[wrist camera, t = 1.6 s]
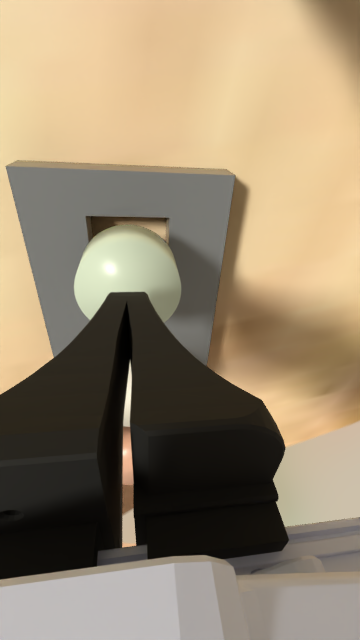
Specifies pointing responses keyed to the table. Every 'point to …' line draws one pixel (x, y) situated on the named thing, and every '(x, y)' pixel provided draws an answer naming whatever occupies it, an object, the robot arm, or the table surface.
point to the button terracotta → (127, 457)
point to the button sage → (127, 269)
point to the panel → (123, 201)
